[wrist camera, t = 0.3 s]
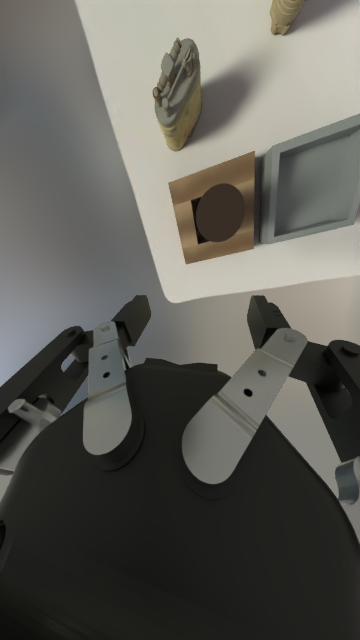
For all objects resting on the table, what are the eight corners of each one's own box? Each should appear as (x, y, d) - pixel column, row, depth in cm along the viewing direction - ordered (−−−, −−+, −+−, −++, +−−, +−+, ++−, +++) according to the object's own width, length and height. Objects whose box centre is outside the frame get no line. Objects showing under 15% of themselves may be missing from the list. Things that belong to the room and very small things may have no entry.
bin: (261, 158, 25) (272, 145, 21) (355, 124, 22) (390, 102, 18) (259, 241, 32) (267, 244, 28) (331, 224, 29) (353, 224, 25)
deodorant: (199, 236, 33) (197, 244, 20) (197, 203, 30) (194, 188, 17) (226, 233, 32) (242, 239, 19) (228, 197, 29) (248, 178, 16)
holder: (171, 187, 29) (168, 182, 26) (248, 159, 26) (254, 150, 23) (187, 261, 36) (185, 264, 33) (249, 246, 33) (253, 248, 30)
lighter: (189, 82, 22) (181, -2, 14) (207, 107, 23) (210, 42, 15) (161, 139, 26) (142, 99, 17) (178, 158, 27) (168, 129, 18)
